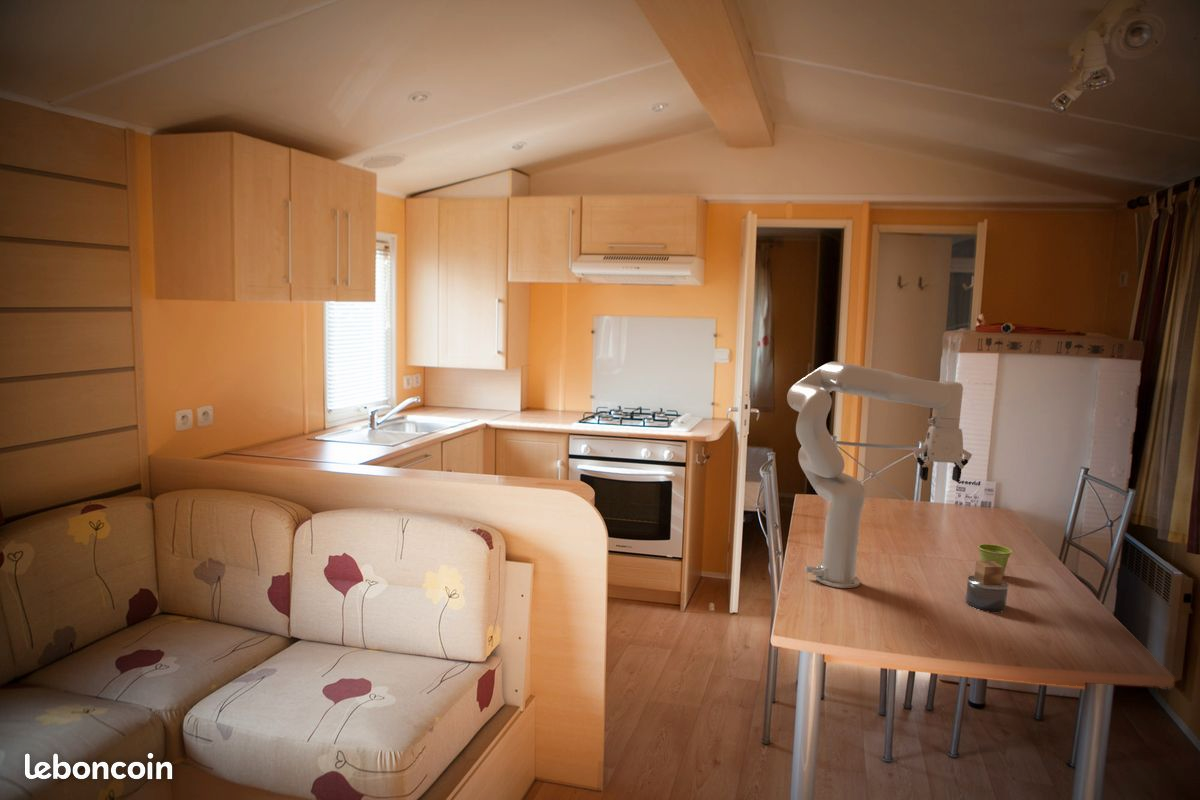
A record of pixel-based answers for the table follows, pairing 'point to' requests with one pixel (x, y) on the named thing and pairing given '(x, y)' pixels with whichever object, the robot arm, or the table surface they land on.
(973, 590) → the black tin
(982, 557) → the plant pot
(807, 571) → the robot arm
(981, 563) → the walnut block
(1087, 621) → the table surface
